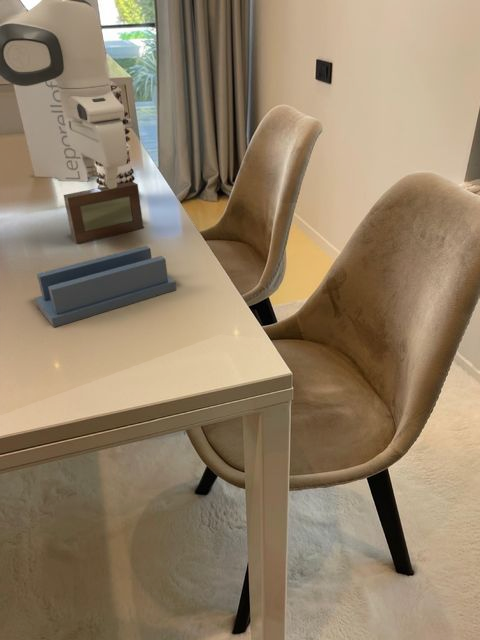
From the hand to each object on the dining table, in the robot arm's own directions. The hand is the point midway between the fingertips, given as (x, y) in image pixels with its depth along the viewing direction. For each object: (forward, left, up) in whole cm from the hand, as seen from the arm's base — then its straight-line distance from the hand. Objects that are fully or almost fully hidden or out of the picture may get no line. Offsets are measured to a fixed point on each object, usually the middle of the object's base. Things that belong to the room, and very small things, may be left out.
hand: (101, 181), depth 106 cm
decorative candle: (+10, +18, -11) cm, 23 cm away
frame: (0, 0, -10) cm, 10 cm away
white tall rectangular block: (+7, +45, -11) cm, 47 cm away
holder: (-11, -26, -10) cm, 30 cm away
